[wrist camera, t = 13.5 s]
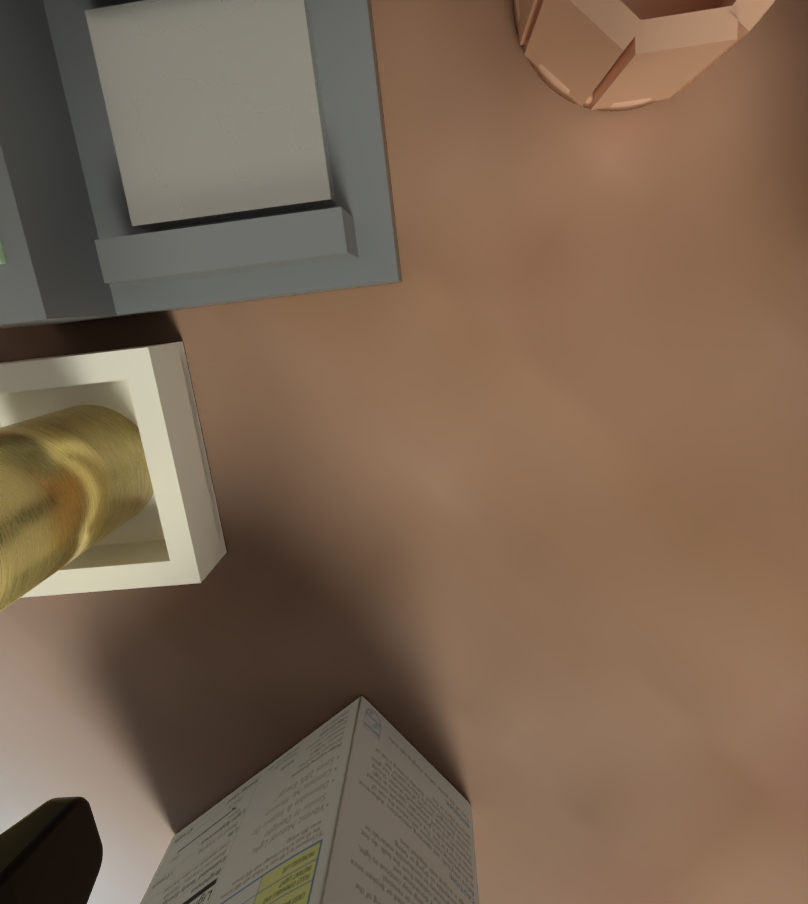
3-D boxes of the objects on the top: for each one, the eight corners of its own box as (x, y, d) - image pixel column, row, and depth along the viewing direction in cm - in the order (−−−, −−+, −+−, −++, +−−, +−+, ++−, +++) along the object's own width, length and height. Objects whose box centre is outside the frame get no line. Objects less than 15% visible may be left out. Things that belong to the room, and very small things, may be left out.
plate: (307, -9, 14) (300, -27, 13) (336, 204, 15) (330, 198, 14) (103, 26, 14) (84, 10, 14) (147, 229, 16) (132, 226, 15)
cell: (141, 398, 18) (-65, 467, 11) (169, 517, 19) (-1, 657, 12) (21, 411, 18) (-259, 487, 11) (54, 528, 19) (-181, 670, 12)
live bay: (182, 340, 18) (147, 347, 16) (226, 552, 20) (201, 583, 17) (-31, 366, 18) (-92, 375, 16) (31, 568, 20) (-17, 600, 18)
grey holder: (361, -83, 15) (327, -250, 10) (401, 281, 17) (388, 276, 12) (-38, -12, 16) (-230, -136, 11) (51, 324, 18) (-79, 333, 13)
